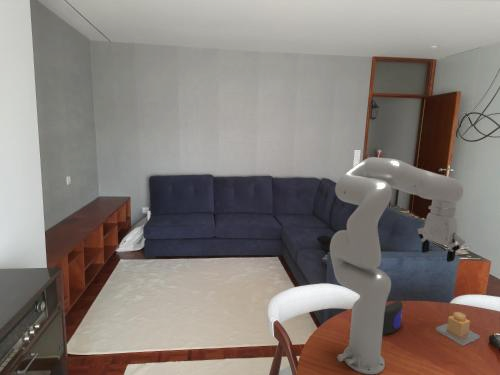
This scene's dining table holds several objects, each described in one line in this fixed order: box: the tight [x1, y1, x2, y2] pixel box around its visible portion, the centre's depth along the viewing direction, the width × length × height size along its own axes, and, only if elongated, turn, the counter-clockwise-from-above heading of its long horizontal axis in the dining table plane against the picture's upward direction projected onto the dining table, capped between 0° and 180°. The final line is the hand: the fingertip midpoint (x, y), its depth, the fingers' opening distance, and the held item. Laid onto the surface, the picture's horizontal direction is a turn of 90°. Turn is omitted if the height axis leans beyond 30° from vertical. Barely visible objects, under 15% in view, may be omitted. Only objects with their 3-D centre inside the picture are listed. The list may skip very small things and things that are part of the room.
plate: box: [435, 323, 481, 347], centre depth 120 cm, size 10×10×4 cm
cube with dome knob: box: [446, 311, 471, 337], centre depth 119 cm, size 5×5×7 cm
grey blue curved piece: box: [382, 300, 404, 336], centre depth 121 cm, size 16×5×9 cm, turn 123°
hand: (437, 256), depth 120 cm, fingers open, 9 cm apart
